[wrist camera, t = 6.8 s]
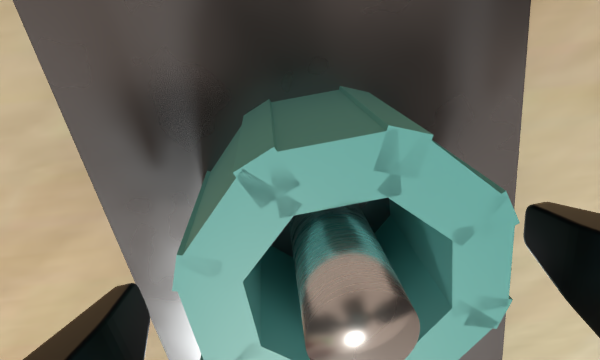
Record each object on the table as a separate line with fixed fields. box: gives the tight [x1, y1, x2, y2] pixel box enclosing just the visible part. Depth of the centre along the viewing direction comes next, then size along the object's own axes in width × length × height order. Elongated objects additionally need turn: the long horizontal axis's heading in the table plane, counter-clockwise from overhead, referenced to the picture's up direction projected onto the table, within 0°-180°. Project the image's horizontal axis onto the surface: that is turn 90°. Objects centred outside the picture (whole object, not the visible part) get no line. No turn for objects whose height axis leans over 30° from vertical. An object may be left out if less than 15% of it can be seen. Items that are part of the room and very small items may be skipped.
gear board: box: [13, 0, 531, 360], centre depth 11 cm, size 12×22×6 cm, turn 9°
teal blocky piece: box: [172, 86, 519, 360], centre depth 9 cm, size 7×7×4 cm
